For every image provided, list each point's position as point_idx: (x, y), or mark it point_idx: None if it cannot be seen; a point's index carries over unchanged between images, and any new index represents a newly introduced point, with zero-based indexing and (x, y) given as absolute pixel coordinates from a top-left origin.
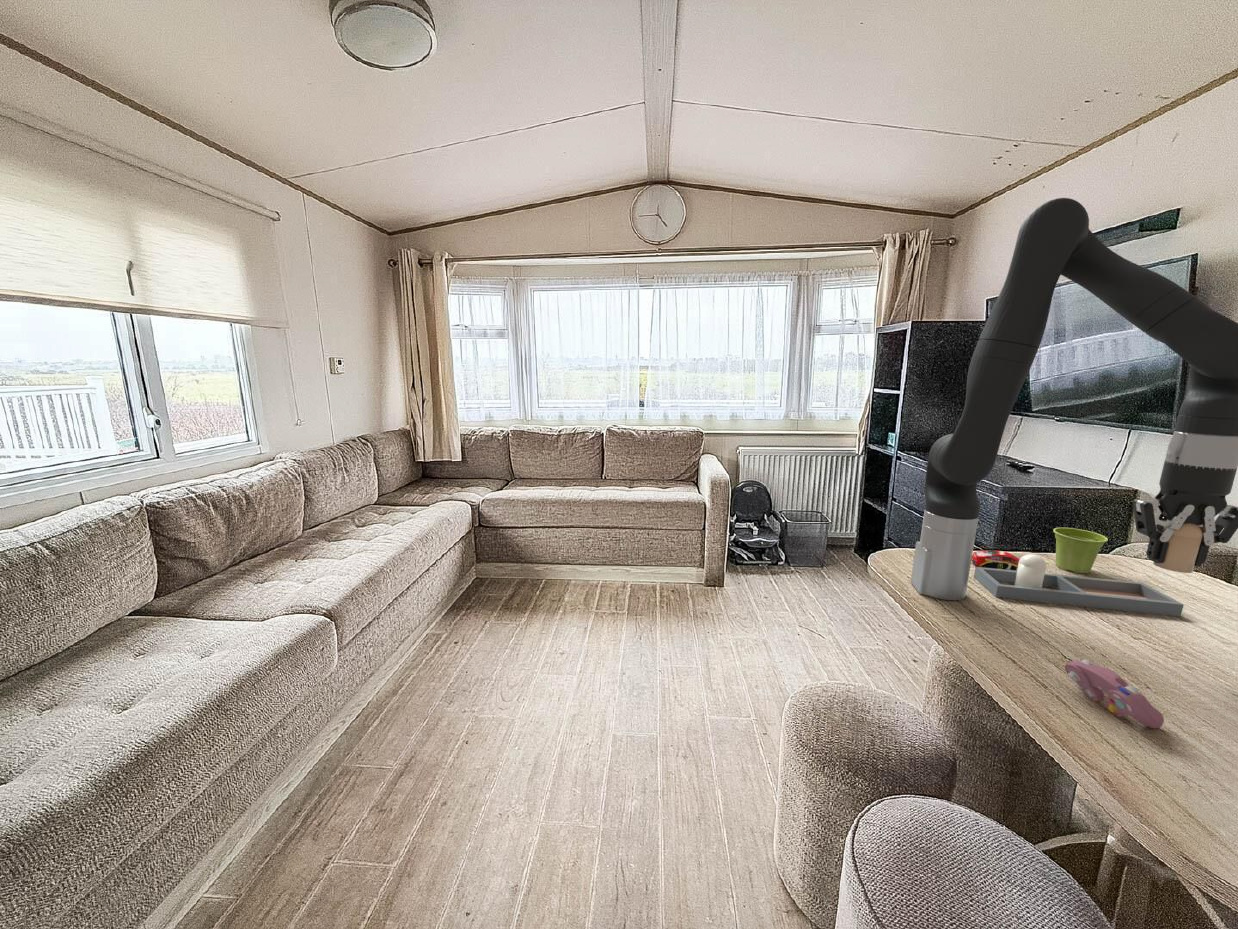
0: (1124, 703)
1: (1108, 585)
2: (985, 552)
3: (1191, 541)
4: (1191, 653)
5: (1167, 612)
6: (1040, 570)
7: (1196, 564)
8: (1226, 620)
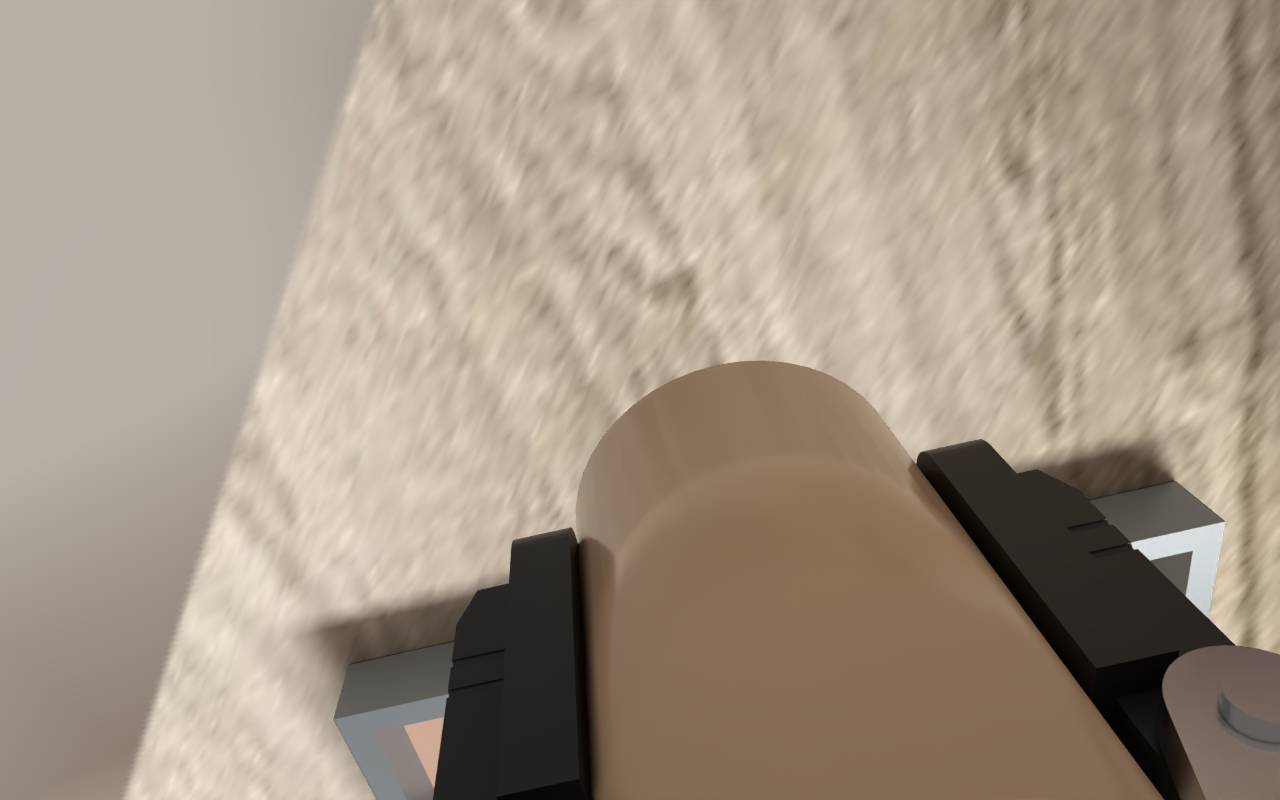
0: None
1: None
2: None
3: (874, 719)
4: (466, 220)
5: (404, 663)
6: None
7: (566, 536)
8: (156, 720)
